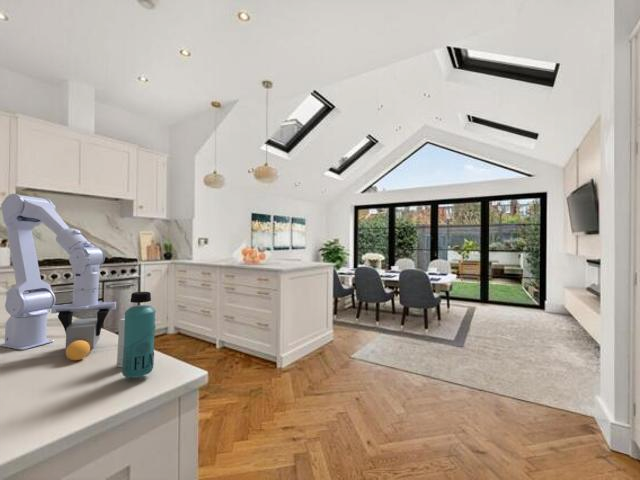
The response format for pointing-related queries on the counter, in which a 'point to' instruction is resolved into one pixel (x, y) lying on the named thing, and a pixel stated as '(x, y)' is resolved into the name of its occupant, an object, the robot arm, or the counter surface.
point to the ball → (77, 350)
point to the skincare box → (120, 343)
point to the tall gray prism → (82, 332)
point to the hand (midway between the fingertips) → (83, 336)
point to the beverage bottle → (139, 337)
